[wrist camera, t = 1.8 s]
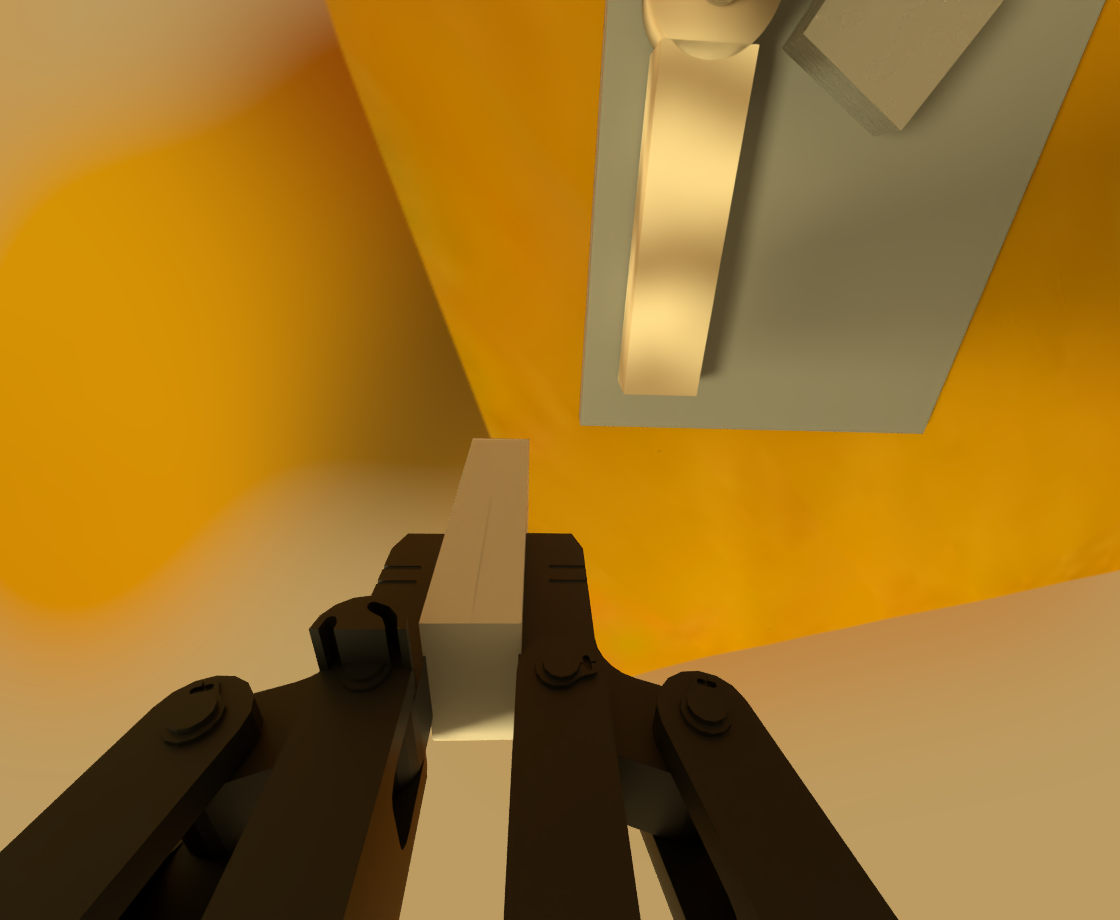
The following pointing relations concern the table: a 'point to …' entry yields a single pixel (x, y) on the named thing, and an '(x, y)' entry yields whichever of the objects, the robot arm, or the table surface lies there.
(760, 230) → the base plate
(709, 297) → the link
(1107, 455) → the table surface
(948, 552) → the table surface
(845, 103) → the beige block
